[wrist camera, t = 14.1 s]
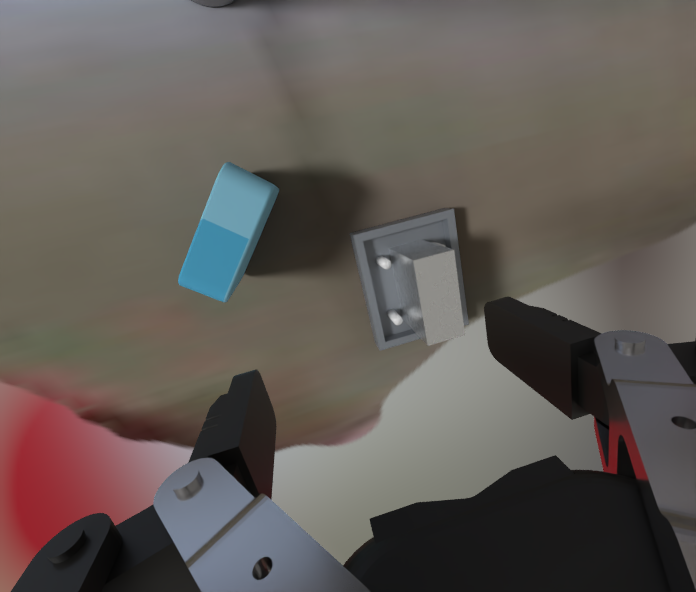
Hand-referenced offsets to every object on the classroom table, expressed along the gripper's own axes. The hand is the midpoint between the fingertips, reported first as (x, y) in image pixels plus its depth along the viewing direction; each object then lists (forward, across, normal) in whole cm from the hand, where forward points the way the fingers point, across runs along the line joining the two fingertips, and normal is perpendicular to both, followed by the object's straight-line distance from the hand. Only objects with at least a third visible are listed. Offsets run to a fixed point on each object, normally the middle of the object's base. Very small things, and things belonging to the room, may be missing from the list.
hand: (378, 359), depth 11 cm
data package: (+32, +8, -4) cm, 34 cm away
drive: (+31, -11, +8) cm, 34 cm away
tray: (+32, -11, +8) cm, 35 cm away
